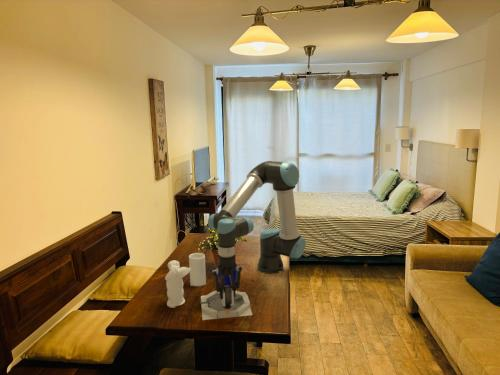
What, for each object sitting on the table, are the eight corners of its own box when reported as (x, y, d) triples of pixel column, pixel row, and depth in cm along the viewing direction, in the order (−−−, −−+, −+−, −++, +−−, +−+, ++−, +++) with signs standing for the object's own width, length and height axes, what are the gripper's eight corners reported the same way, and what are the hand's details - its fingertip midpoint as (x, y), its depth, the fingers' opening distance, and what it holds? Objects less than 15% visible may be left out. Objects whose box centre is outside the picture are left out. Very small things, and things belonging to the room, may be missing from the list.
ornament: (242, 283, 193) (241, 256, 190) (234, 290, 185) (233, 263, 182) (224, 279, 198) (223, 253, 195) (215, 286, 190) (214, 259, 187)
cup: (203, 288, 188) (201, 259, 185) (188, 287, 190) (186, 258, 187) (208, 281, 196) (206, 253, 193) (193, 280, 198) (192, 252, 195)
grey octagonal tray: (245, 293, 182) (245, 287, 181) (252, 318, 160) (252, 311, 159) (199, 297, 178) (199, 291, 178) (200, 323, 156) (200, 316, 156)
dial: (205, 299, 175) (205, 275, 173) (238, 294, 179) (237, 271, 176) (210, 316, 160) (209, 290, 157) (246, 311, 164) (245, 286, 161)
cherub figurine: (170, 298, 179) (167, 255, 175) (195, 298, 178) (193, 255, 175) (163, 310, 167) (160, 265, 163) (190, 310, 166) (188, 265, 163)
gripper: (210, 260, 152) (212, 311, 157) (247, 254, 158) (247, 304, 162) (206, 254, 159) (207, 303, 164) (241, 249, 165) (242, 297, 169)
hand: (227, 304), depth 163 cm, fingers open, 3 cm apart
